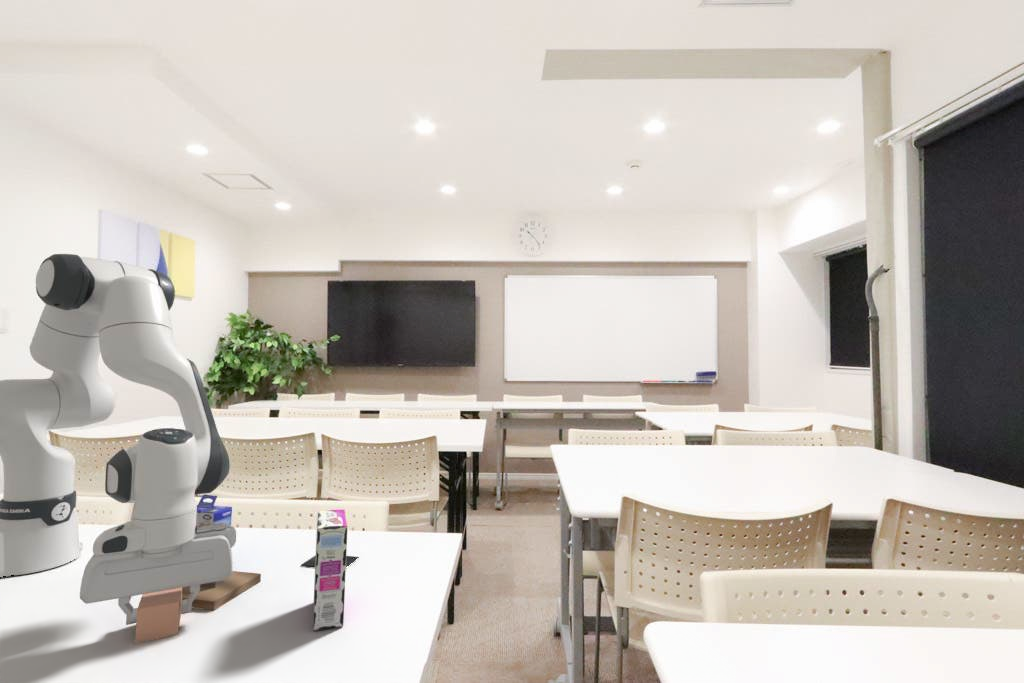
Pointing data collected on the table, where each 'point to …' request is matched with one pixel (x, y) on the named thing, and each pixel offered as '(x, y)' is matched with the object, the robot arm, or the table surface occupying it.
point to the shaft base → (222, 590)
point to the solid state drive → (312, 561)
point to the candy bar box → (330, 570)
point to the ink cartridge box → (212, 513)
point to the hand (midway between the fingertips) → (160, 617)
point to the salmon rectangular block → (158, 615)
